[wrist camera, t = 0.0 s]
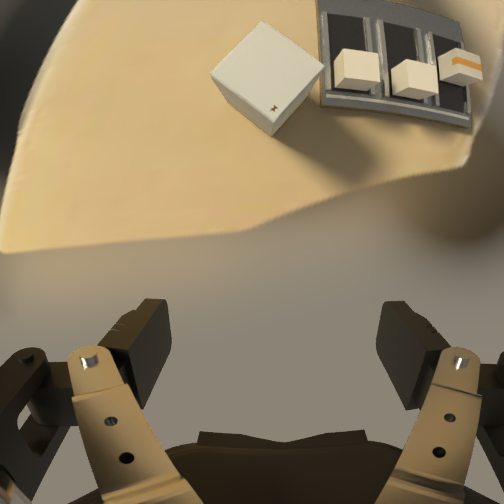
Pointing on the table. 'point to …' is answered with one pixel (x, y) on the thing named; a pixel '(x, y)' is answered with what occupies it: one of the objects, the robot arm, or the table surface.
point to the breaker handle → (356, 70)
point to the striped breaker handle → (460, 67)
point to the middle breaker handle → (414, 80)
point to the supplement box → (266, 77)
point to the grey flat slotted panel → (390, 57)
